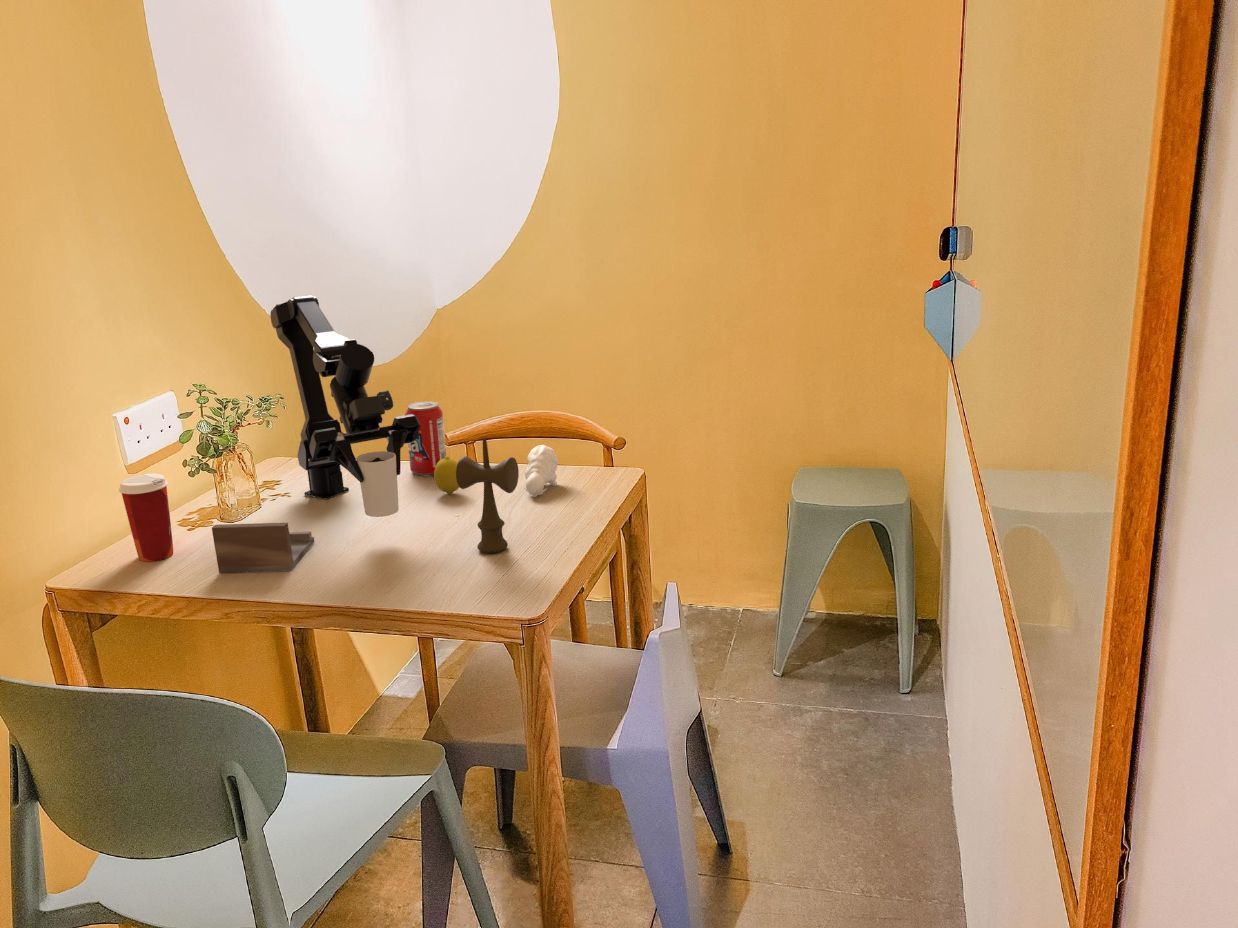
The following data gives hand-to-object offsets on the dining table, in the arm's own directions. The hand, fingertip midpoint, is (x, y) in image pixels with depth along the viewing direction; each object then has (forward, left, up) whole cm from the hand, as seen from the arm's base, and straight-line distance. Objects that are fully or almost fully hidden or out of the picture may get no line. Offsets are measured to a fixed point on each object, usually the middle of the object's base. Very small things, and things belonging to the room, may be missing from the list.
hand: (380, 477), depth 173 cm
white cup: (-1, +1, -7) cm, 7 cm away
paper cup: (-33, -22, -12) cm, 42 cm away
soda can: (-21, +36, -12) cm, 43 cm away
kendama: (+19, +6, -12) cm, 23 cm away
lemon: (-7, +26, -12) cm, 29 cm away
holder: (-14, -14, -12) cm, 23 cm away
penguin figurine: (+8, +36, -12) cm, 39 cm away
